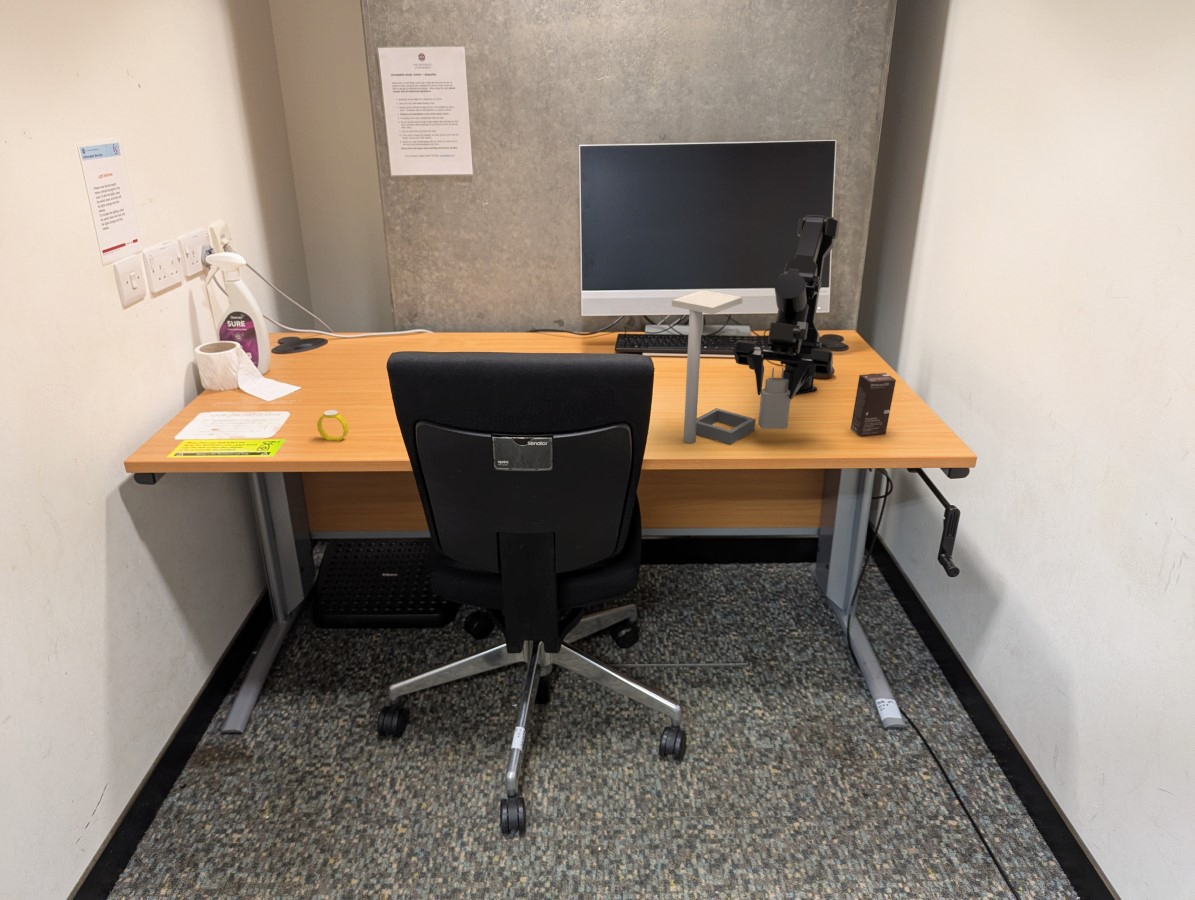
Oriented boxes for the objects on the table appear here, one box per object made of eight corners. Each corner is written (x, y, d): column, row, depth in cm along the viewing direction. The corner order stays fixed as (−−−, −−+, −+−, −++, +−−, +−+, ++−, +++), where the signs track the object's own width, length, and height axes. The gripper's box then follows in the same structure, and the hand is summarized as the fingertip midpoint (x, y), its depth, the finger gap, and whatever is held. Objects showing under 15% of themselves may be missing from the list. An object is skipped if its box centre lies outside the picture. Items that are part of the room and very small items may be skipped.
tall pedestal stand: (706, 416, 173) (714, 286, 162) (754, 430, 167) (766, 295, 155) (666, 437, 163) (671, 300, 151) (716, 453, 156) (725, 310, 145)
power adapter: (788, 428, 158) (794, 370, 153) (760, 428, 158) (765, 370, 153) (784, 422, 161) (790, 365, 156) (757, 422, 161) (762, 365, 156)
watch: (350, 439, 163) (349, 411, 161) (344, 444, 161) (342, 417, 158) (323, 434, 164) (321, 407, 162) (316, 440, 162) (314, 412, 159)
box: (861, 437, 163) (869, 381, 158) (849, 429, 167) (857, 373, 162) (888, 434, 164) (897, 379, 159) (876, 426, 168) (884, 371, 163)
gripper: (738, 299, 156) (721, 371, 151) (838, 309, 149) (823, 384, 145) (744, 328, 166) (728, 396, 161) (838, 338, 159) (824, 409, 155)
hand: (774, 396), depth 155 cm, fingers closed on power adapter, 6 cm apart
